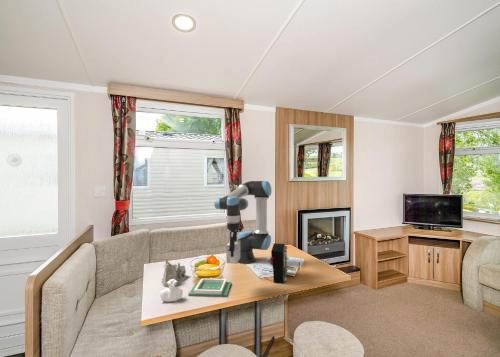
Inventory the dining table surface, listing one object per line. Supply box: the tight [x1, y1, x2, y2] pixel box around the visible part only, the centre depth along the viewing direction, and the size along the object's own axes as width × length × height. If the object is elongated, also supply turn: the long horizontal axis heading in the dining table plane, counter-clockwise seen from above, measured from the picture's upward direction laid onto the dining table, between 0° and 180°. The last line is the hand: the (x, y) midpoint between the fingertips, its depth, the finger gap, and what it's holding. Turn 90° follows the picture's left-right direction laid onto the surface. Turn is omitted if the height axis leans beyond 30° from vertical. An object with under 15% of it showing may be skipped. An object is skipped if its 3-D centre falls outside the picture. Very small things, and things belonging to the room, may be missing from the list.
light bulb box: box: [225, 240, 240, 265], centre depth 135 cm, size 11×7×11 cm, turn 172°
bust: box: [159, 279, 184, 303], centre depth 124 cm, size 12×8×11 cm
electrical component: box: [269, 243, 288, 284], centre depth 150 cm, size 18×10×20 cm, turn 168°
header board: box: [188, 277, 232, 298], centre depth 134 cm, size 16×22×3 cm
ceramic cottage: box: [161, 257, 187, 288], centre depth 147 cm, size 16×16×15 cm
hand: (233, 258), depth 135 cm, fingers closed on light bulb box, 11 cm apart
